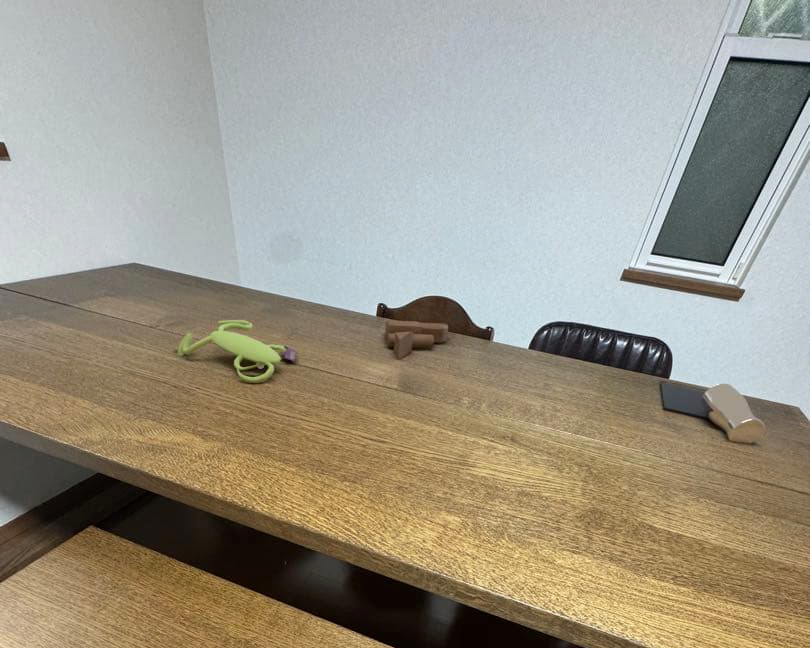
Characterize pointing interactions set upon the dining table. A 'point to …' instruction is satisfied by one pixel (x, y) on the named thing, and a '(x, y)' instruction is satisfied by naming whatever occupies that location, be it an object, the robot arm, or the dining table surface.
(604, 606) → the dining table surface
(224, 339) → the figurine
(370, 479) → the dining table surface
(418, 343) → the wooden block set
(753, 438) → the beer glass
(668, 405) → the mat
